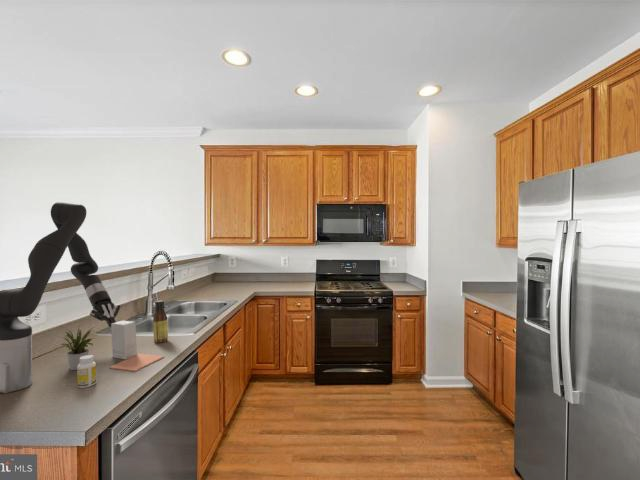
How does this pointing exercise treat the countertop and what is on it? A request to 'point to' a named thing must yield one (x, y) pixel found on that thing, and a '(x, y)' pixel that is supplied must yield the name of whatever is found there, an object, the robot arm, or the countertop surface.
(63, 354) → the countertop surface
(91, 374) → the supplement bottle
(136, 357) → the plate
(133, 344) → the skincare box
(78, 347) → the house plant
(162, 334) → the sauce bottle
